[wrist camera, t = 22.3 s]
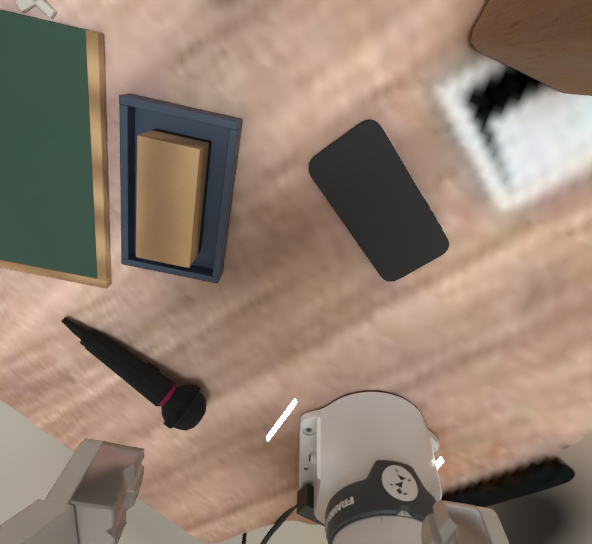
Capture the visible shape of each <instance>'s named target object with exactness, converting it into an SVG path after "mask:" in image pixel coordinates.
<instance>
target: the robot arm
mask: <svg viewBox="0 0 592 544" xmlns="http://www.w3.org/2000/svg"><path fill="white" fill-rule="evenodd" d="M296 404H297V399H294V400H293V401H292V403H291V404H290V405H289V407H288V408H287V409H286V411H285V412H284V413H283V415H282V416H281V417H280V419H279V420H278V421H277V423H276V424H275V425H274V427H273V428H272V429H271V431H270V432H269V433H268V435H267V439H266V440H267V441H269V440H270V439H271V437H272V436H273V435H274V433H275V432H276V431H277V429H278V428H279V427H280V425H281V424H282V423H283V421H284V420H285V419H286V417H287V416H288V415H289V413H290V412H291V411H292V409H293V408H294V407H295V405H296ZM438 449H439V442H438V438H437V437H436V436H435V435H434V434H433V433H432V432H431V431H430V430H428V429H427V427H426V425H425V422H424V419H423V417H422V415H421V413H420V412H419V410H418V409H417V408H416V407H415V406H414V405H413V404H411V403H410V402H408V401H407V400H405V399H403V398H401V397H398V396H395V395H392V394H388V393H382V392H361V393H355V394H351V395H347V396H345V397H342V398H340V399H338V400H336V401H334V402H332V403H331V404H329V405H328V406H326V407H324V408H322V409H319V410H315V411H311V412H307V413H305V414H303V415H302V416H301V417H300V434H299V487H300V490H299V491H298V492H297V504H296V505H295V506H294V507H292V508H291V509H289V510H288V511H286V512H285V513H284V514H283V515H282V517H281V518H280V519H279V520H278V521H277V523H276V524H275V525H274V526H273V527H272V528H271V529H270V531H269V532H268V533H267V535H266V536H265V538H264V539H263V541H262V542H261V544H266V543H267V541H268V540H269V539H270V537H271V536H272V535H273V533H274V532H275V531H276V530H277V529H278V528H279V527H280V525H281V524H282V523H283V522H284V521H285V520H286V518H287V517H288V516H289V515H290V514H291V513H292V511H293V510H294V509H295V508H297V514H299V515H301V516H303V517H305V518H307V519H310V520H312V521H314V522H316V523H318V524H321V525H323V526H325V532H326V538H327V540H328V544H509V542H508V540H507V537H506V535H505V532H504V530H503V528H502V525H501V523H500V520H499V518H498V516H497V514H496V513H495V511H494V510H492V509H490V508H485V507H478V506H473V505H469V504H462V503H456V502H449V501H443V500H440V499H441V498H442V490H441V485H440V480H439V475H438V471H437V469H438V468H439V467H440V466H441V465H442V464H443V463H444V461H443V457H440V458H439V459H438V460H437V461H435V457H434V453H435V452H436V451H437V450H438ZM143 458H144V449H143V448H137V447H131V446H126V445H120V444H115V443H109V442H106V441H100V440H94V439H88V438H86V439H85V440H84V441H82V442H81V443H80V445H79V446H78V448H77V449H76V451H75V452H74V454H73V456H72V457H71V459H70V460H69V462H68V464H67V465H66V467H65V468H64V470H63V471H62V473H61V475H60V476H59V478H58V479H57V481H56V483H55V484H54V486H53V487H52V489H51V491H50V492H49V494H48V495H47V497H46V498H45V500H40V499H38V500H37V501H35V502H34V503H32V504H31V505H29V506H28V507H27V508H25V509H24V510H22V511H21V512H19V513H18V514H16V515H15V516H13V517H12V518H10V519H9V520H7V521H6V522H4V523H3V524H2V525H0V544H118V541H119V539H120V537H121V534H122V531H123V529H124V527H125V525H126V511H127V510H128V509H129V508H131V507H132V506H133V505H134V503H135V501H136V498H137V496H138V493H139V490H140V487H141V483H142V479H143V474H144V467H143V466H142V464H141V463H142V461H143ZM246 536H247V532H246V533H243V537H242V544H246Z"/></svg>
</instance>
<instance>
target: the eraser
mask: <svg viewBox="0 0 592 544" xmlns="http://www.w3.org/2000/svg"><path fill="white" fill-rule="evenodd" d="M211 143H212V141H209V140H205V139H200V138H196V137H192V136H187V135H183V134H178V133H174V132H169V131H165V130H161V129H153V130H151V131H148V132H145V133H142V134H140V135H137V209H136V257H138V258H143V259H148V260H153V261H157V262H162V263H167V264H172V265H177V266H182V267H186V268H190V266H191V265H192V263H193V261H194V260H195V258H196V257H197V255H198V253H199V252H200V250H201V242H202V232H203V222H204V212H205V203H206V193H207V183H208V173H209V163H210V153H211Z"/></svg>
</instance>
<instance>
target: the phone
mask: <svg viewBox="0 0 592 544" xmlns="http://www.w3.org/2000/svg"><path fill="white" fill-rule="evenodd" d="M309 173H310V175H311V177H312V179H313V180H314V182H315V183H316V184H317V186H318V187H319V189H320V190H321V192H322V193H323V194H324V196H325V197H326V199H327V200H328V201H329V203H330V204H331V206H332V207H333V209H334V210H335V211H336V213H337V214H338V216H339V217H340V219H341V220H342V221H343V223H344V224H345V226H346V227H347V229H348V230H349V231H350V233H351V234H352V236H353V237H354V239H355V240H356V241H357V243H358V245H359V246H360V247H361V249H362V250H363V252H364V253H365V255H366V256H367V257H368V259H369V260H370V261H371V263H372V264H373V266H374V267H375V268H376V270H377V271H378V273H379V274H380V276H381V277H382V278H383V279H384V280H386V281H396V280H398V279H400V278H402V277H404V276H405V275H407V274H409V273H411V272H413V271H414V270H416V269H418V268H420V267H422V266H423V265H425V264H427V263H429V262H431V261H432V260H434V259H436V258H438V257H439V256H441V255H443V254H444V253H445V252H446V251H447V250H448V247H449V241H448V239H447V237H446V235H445V234H444V232H443V230H442V227H441V226H440V224H439V223H438V222H437V219H436V217H435V216H434V214H433V212H432V211H431V210H430V207H429V205H428V204H427V202H426V200H425V199H424V198H423V196H422V195H421V193H420V191H419V190H418V188H417V186H416V185H415V183H414V181H413V179H412V178H411V176H410V174H409V173H408V171H407V169H406V168H405V166H404V164H403V163H402V161H401V159H400V157H399V156H398V154H397V152H396V151H395V149H394V147H393V146H392V144H391V142H390V141H389V139H388V137H387V135H386V134H385V132H384V130H383V129H382V127H381V126H380V125H379V124H378V123H377V122H376V121H374V120H366V121H363V122H361V123H360V124H358V125H357V126H356V127H354V128H353V129H351V130H350V131H349V132H347V133H346V134H344V135H343V136H342V137H340V138H339V139H338V140H336V141H335V142H333V143H332V144H331V145H329V146H328V147H327V148H325V149H324V150H322V151H321V152H320V153H318V154H317V155H316V156H314V157H313V158H312V160H311V161H310V163H309Z"/></svg>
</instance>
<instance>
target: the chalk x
mask: <svg viewBox="0 0 592 544" xmlns="http://www.w3.org/2000/svg"><path fill="white" fill-rule="evenodd" d="M16 4H17V5H18V7H19V9H20V10H21V12H26V11H28V10H29V9H31V8H33V7H34V6H36V5H37V6H38V7H39V8H40V9H41V10H42V11H43V12H44V13H45V14H46V15H47V16H48V17H49V18H50V19H53V18H54V16H55V14H56V13H57V12H56V11H55V10H54V9H53V8H52V7H51V6H50V5H49V4H48V3H47V2H46V1H45V0H18V1H17V2H16Z"/></svg>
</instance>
